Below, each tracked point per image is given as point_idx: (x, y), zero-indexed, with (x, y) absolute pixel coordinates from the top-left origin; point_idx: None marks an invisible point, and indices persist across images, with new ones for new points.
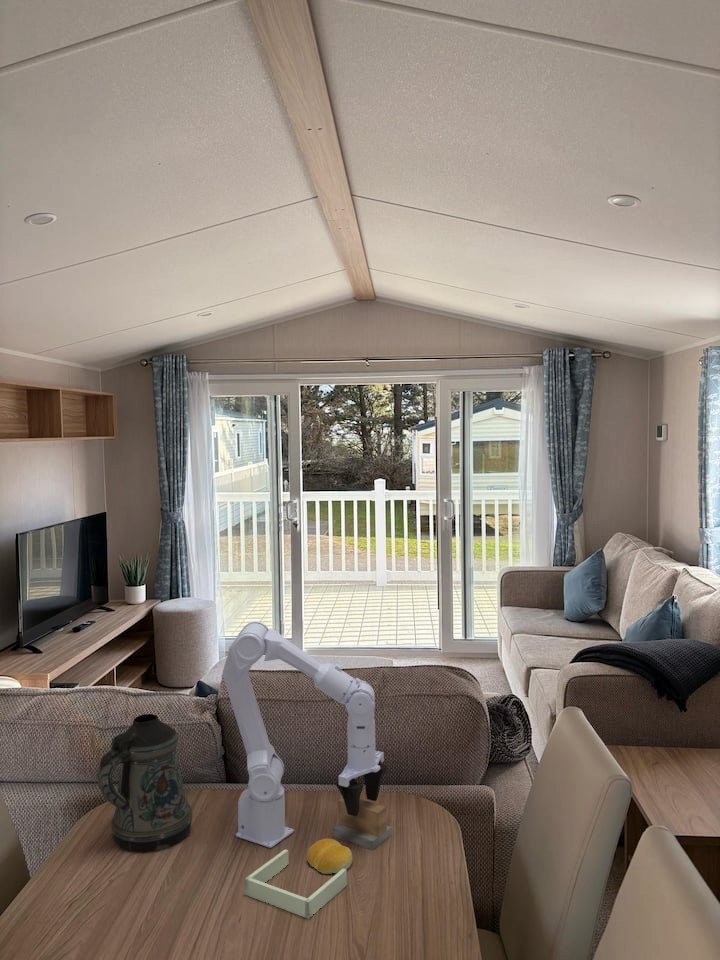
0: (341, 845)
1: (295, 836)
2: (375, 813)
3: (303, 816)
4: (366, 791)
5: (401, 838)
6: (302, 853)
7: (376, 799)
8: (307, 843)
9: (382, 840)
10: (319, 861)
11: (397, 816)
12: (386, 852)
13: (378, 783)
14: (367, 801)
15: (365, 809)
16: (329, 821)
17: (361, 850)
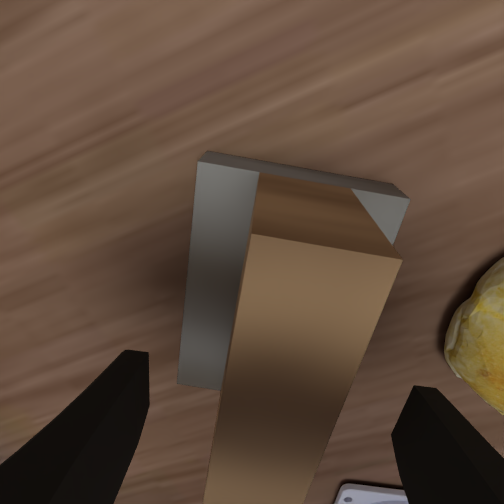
0: (497, 327)
1: (368, 468)
2: (388, 282)
3: None
4: (126, 464)
5: (214, 82)
6: (484, 418)
7: (134, 356)
8: None
9: (303, 171)
10: None
11: (13, 202)
12: (400, 103)
13: (52, 499)
14: (222, 401)
15: (355, 373)
16: None
17: (411, 236)
